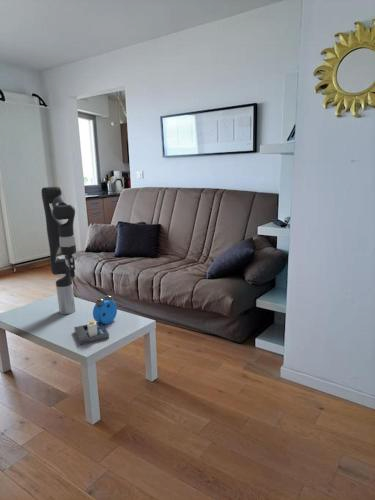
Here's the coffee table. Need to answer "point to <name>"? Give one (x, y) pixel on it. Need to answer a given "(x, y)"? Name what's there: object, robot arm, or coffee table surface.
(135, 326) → the coffee table surface
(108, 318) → the alarm clock
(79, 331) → the panel
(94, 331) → the plug
